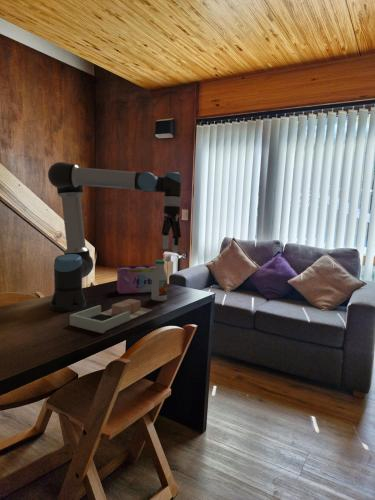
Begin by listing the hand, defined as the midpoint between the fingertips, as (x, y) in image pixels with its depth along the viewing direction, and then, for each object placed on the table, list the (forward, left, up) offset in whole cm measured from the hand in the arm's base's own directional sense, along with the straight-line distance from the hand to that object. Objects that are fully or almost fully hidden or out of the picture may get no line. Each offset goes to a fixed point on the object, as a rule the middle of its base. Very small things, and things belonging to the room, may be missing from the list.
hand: (170, 250), depth 166 cm
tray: (-26, -31, -26) cm, 48 cm away
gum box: (-17, +23, -26) cm, 39 cm away
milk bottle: (-5, +6, -26) cm, 27 cm away
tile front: (-20, -20, -25) cm, 38 cm away
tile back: (-16, -15, -25) cm, 33 cm away
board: (-18, -17, -26) cm, 36 cm away
